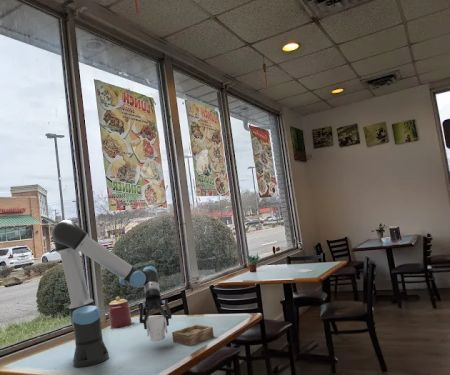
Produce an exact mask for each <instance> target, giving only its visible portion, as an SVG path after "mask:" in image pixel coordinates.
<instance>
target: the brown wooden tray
mask: <svg viewBox="0 0 450 375" xmlns="http://www.w3.org/2000/svg"><path fill="white" fill-rule="evenodd" d="M171 333H172V342H173V343H175V344H176V343H177V344H180V345H185V346H193V345H196V344H198V343H201V342H204V341H207V340H209V339H212V338H214V337H215V335H214V328H213V326H208V325H202V324H194V325H191V326H187V327H183V328H181V329H178V330H174V331H172V332H171Z"/></svg>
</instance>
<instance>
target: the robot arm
mask: <svg viewBox="0 0 450 375" xmlns="http://www.w3.org/2000/svg"><path fill="white" fill-rule="evenodd" d="M51 237H52V240H53V243H54V247H55V252H56V253H57V254H59V255H60V259H61V264H62V268H63V273H64V277H65V281H66V282H65V283H66V286H67V291H68V295H69V299H70V300H69V301H70V305H69V306H68V312H69V315H70V316H69V317H70V323H71V326H72V327H73V333H74V342H75V349H74V354H73V360H72V363H73V364H72V365H73V367H75V368H83V367H90V366H91V367H92V366H94V365H97V364H100V363H103V362H105V361H106V360H107V359H109V356H110V355H109V351H108V348H107V346H106V344H105V342H104V340H103V332H102V329H103V328H102V323H101V312H100V309H99V307H98V306H97V305H95V302H94V299H92V298H91V297H90V294H89V291H88V285H87V282H86V276H85V272H84V267H83V263H82V262H83V261H82V259H81V254H80V253H82V254H83V255H85V256H87V257H88V258H89V259H91V260H93V261H94V262H96V263H97V264H99V265H101V267H103V268H105V270H108V271H109V272H110V273H112V274H115V276H117V277H119V280H118V282H119V284H120V285H124V286H131V287H133V288H141V287H143V289H144V297H145V298H144V299H145V301H144V302H143V303H142V302H139V309H140V311H139V319H138V320H139V324H143V328H144V330H146V332H147V333H146V334H147V337H150V334H149V328H148V321H147V319H148V318H150V317H149V316H150V314H151V312H152V311H155V310H158V311H159V314H161V316H164V322H165V334H168V326H169V325H170V321H169V320H171V319H172V312H171V309H170V307H169V303H168V302H169V300H168V299H167V298H166V299H164V300H163V299H162V297H161V290H160V282H159V274H158V271H157V268H156V267H154V266H152V265H148V266H145V267H144V268H143V270H139V269H137V268H135V267H134V266H132V264H130V263H128V262H127V261H126V260H124V259H122V258H121V257H119V256H118V255H117V254H115V253H114V252H112V251H110V250H109V249H108V248H106V247H105V246H103V245H102V244H100V242H97V241H96V240H94V239H93V238H91V237H90V236H89V233H88V232H86V231H85V230H84V229H83V228H82V227H80V225H78V224H77V223H76V222H75V221H72V220H70V219H68V220H67V219H66V220H61V221H59V222H57V223H56V225H55V226H54V228H53V229H52V232H51ZM162 304H163V305H164V307H165V310H164V309H163V307H162ZM145 307H146V308H147V310H146V311H145V315H144V309H145Z"/></svg>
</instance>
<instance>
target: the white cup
mask: <svg viewBox="0 0 450 375" xmlns="http://www.w3.org/2000/svg"><path fill="white" fill-rule="evenodd" d="M147 321H148V328H149V340H150V341H151V342H160V341H164V340H165V339H166V331H165V322H164V316H162V315H155V316H150V317H148V319H147Z"/></svg>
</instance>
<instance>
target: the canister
mask: <svg viewBox="0 0 450 375" xmlns="http://www.w3.org/2000/svg"><path fill="white" fill-rule="evenodd" d="M108 305H109V306H108V307H107V308H108V315H109V317H108V318H109V326H110V328H111V329H118V328H123V327H128V326H130V325H131V324H132V317H131V309H130V303H129V301H128V299H125V298H120V296H116V297H115V299H114V300H111V301H110V302H109V303H108Z"/></svg>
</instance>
